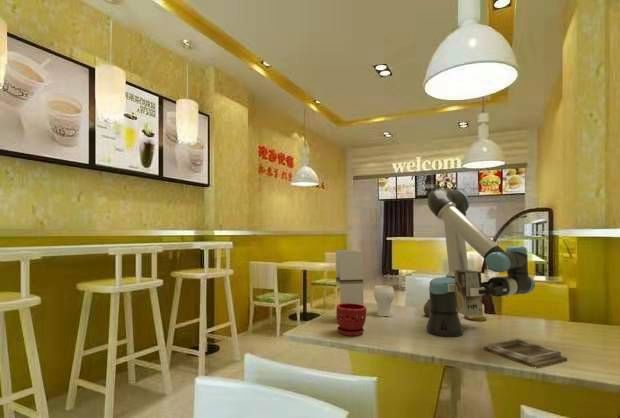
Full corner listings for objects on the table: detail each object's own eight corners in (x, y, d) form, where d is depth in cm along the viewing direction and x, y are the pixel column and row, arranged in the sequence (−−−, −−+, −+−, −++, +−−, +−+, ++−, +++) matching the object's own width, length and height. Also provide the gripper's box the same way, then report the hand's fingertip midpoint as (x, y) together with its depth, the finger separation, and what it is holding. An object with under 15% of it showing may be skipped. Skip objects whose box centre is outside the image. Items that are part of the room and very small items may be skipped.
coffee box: (483, 316, 129) (482, 271, 130) (467, 316, 129) (465, 272, 130) (470, 310, 139) (468, 269, 140) (454, 311, 138) (453, 269, 139)
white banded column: (357, 317, 184) (356, 250, 186) (363, 323, 173) (362, 251, 175) (336, 318, 182) (335, 250, 184) (340, 324, 172) (340, 251, 174)
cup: (390, 318, 182) (389, 288, 183) (371, 315, 188) (370, 287, 189) (397, 314, 191) (396, 286, 192) (378, 312, 197) (378, 284, 198)
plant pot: (345, 339, 148) (345, 309, 149) (331, 331, 160) (331, 304, 161) (372, 335, 153) (371, 307, 153) (357, 327, 165) (356, 301, 166)
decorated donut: (469, 322, 175) (469, 314, 175) (460, 316, 186) (459, 309, 186) (490, 321, 175) (490, 313, 176) (479, 316, 186) (479, 309, 186)
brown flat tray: (484, 349, 133) (483, 342, 133) (513, 344, 140) (512, 337, 140) (536, 368, 115) (535, 360, 115) (567, 360, 121) (566, 353, 122)
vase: (438, 318, 182) (438, 301, 182) (424, 317, 183) (424, 300, 184) (436, 315, 188) (436, 298, 189) (423, 314, 190) (422, 298, 190)
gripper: (529, 300, 131) (485, 306, 122) (478, 291, 152) (437, 295, 143) (528, 280, 131) (484, 283, 123) (477, 274, 152) (437, 276, 143)
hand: (459, 290), depth 133 cm, fingers closed on coffee box, 10 cm apart
